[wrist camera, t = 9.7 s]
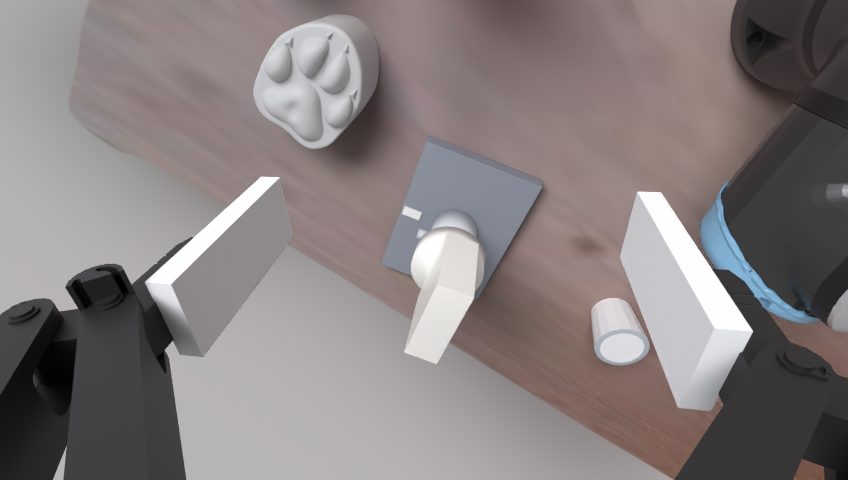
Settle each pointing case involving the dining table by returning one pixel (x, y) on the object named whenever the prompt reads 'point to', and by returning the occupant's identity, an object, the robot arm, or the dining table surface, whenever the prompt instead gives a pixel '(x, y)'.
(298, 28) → the lumpy-topped squat cylinder
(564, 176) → the dining table surface
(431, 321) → the white round-based slab
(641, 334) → the shot glass
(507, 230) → the post plinth
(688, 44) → the dining table surface
